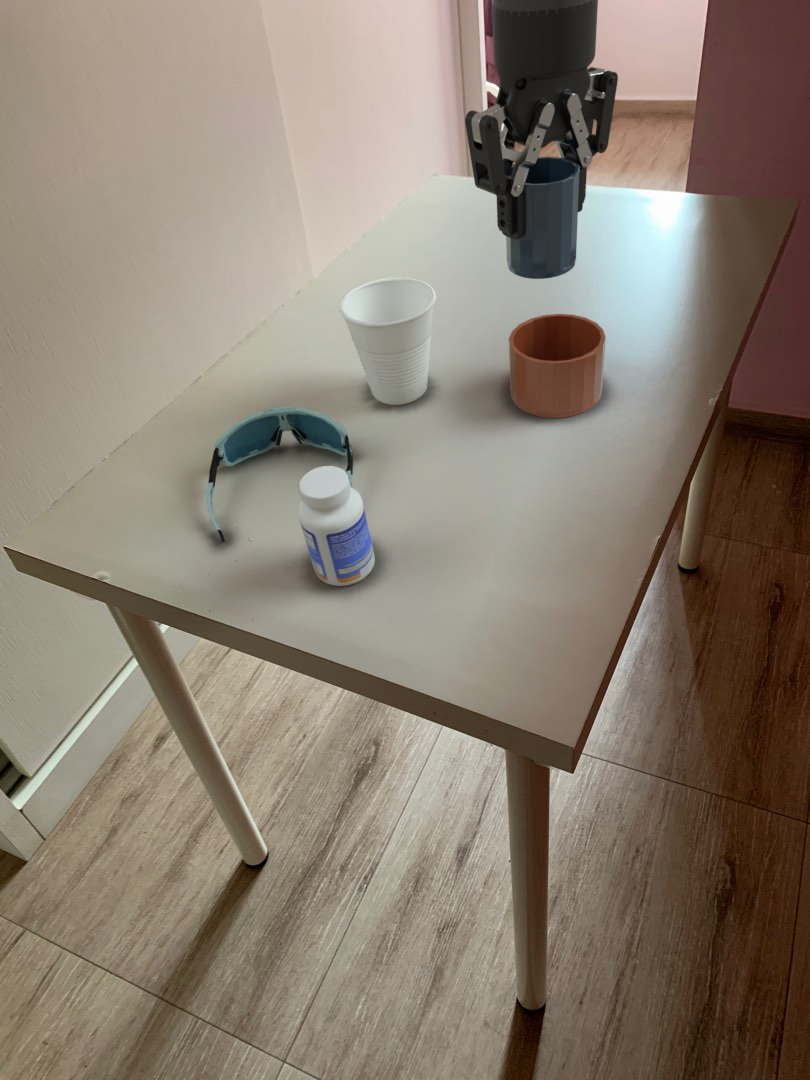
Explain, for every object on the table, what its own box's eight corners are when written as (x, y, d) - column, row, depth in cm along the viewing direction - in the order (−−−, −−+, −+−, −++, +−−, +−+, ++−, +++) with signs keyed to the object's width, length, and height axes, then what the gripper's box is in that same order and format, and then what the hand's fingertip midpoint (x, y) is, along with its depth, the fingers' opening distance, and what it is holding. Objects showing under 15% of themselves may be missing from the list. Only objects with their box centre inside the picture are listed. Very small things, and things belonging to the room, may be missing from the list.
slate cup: (590, 261, 71) (595, 167, 65) (539, 286, 69) (539, 191, 63) (543, 241, 75) (544, 151, 69) (493, 264, 73) (490, 173, 67)
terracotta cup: (620, 391, 85) (625, 336, 80) (552, 429, 81) (553, 374, 77) (558, 357, 91) (559, 304, 86) (492, 391, 87) (490, 338, 83)
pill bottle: (383, 547, 72) (366, 462, 65) (364, 592, 68) (345, 506, 62) (326, 540, 73) (304, 456, 67) (305, 584, 70) (280, 499, 63)
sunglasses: (358, 434, 84) (350, 398, 80) (355, 546, 75) (346, 512, 71) (226, 446, 85) (212, 411, 82) (207, 558, 76) (190, 525, 72)
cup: (461, 377, 90) (453, 285, 82) (414, 426, 84) (402, 332, 77) (387, 359, 95) (373, 270, 87) (338, 405, 89) (319, 314, 81)
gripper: (501, 23, 53) (507, 266, 64) (655, -26, 58) (634, 207, 70) (432, 10, 57) (449, 239, 69) (580, -35, 63) (572, 185, 74)
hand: (542, 222), depth 69 cm, fingers closed on slate cup, 6 cm apart
